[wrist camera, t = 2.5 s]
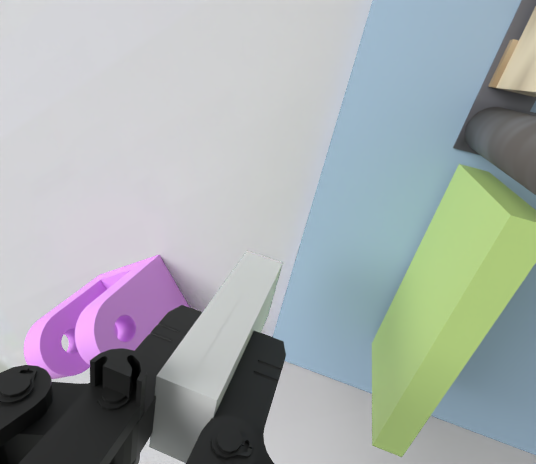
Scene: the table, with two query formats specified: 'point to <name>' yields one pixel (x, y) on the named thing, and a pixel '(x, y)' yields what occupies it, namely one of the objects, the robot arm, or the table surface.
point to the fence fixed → (510, 114)
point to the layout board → (411, 205)
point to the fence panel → (448, 301)
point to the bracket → (103, 317)
